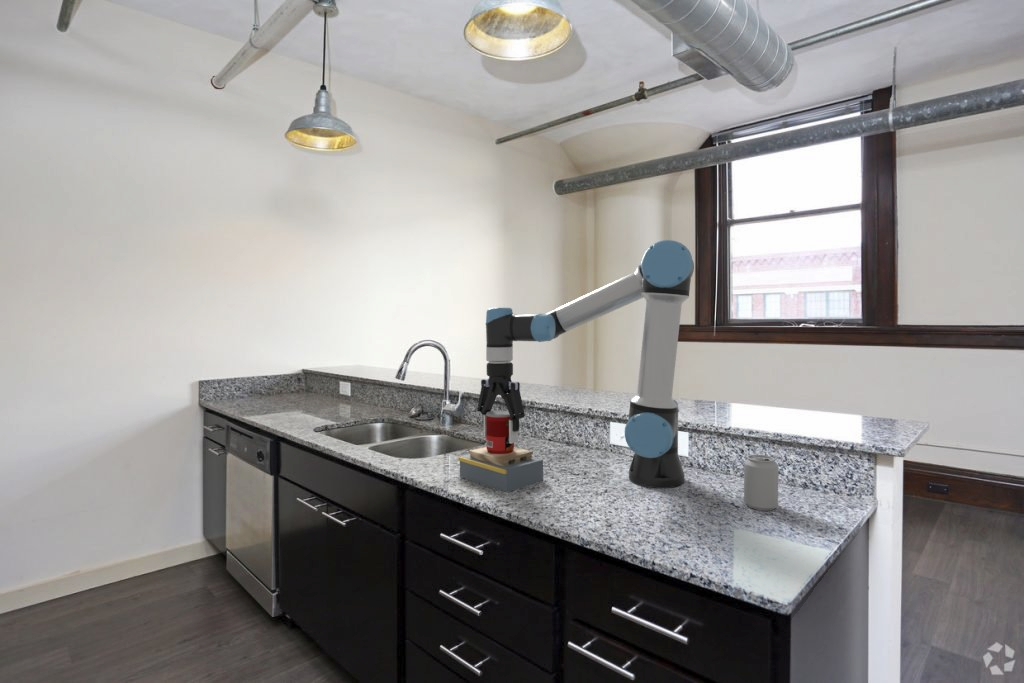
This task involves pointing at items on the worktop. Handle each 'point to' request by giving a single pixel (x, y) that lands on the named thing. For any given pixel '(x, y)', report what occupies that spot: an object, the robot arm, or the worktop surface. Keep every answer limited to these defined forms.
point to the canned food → (498, 432)
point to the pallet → (501, 456)
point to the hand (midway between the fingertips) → (500, 439)
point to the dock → (502, 473)
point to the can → (761, 482)
